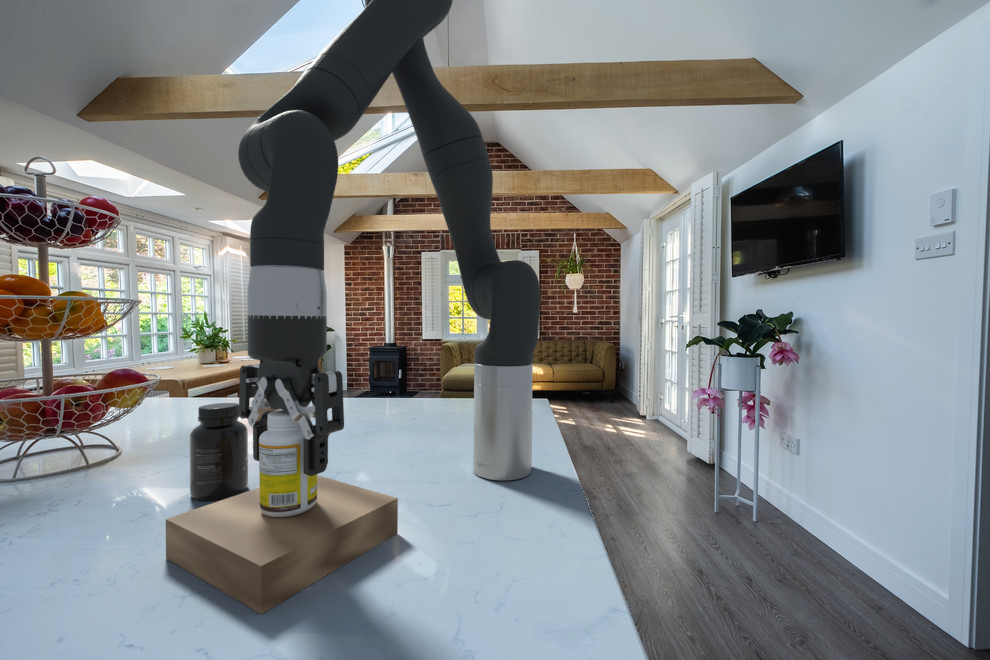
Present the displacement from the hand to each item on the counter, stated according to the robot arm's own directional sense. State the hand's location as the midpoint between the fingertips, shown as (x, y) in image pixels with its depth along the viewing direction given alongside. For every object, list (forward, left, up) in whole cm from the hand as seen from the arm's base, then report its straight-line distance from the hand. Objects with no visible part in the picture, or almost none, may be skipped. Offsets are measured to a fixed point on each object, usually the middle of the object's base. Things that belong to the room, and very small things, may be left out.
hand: (288, 465), depth 47 cm
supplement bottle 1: (-4, -21, -9) cm, 23 cm away
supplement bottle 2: (0, 0, -5) cm, 5 cm away
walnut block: (0, 0, -8) cm, 8 cm away
